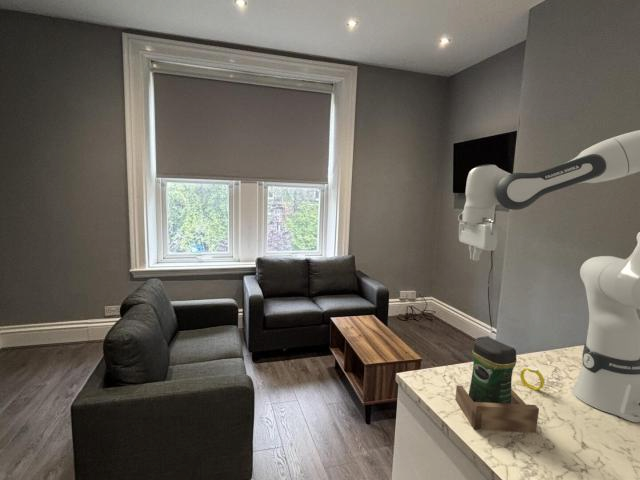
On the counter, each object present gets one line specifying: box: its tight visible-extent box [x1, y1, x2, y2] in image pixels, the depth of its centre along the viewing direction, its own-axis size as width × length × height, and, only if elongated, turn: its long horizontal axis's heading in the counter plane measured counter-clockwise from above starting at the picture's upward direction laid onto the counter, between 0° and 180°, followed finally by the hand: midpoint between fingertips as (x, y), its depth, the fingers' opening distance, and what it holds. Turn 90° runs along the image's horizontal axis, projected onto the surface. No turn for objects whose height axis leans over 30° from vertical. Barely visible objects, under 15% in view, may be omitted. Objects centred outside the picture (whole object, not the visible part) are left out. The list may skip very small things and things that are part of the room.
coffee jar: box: [468, 335, 517, 404], centre depth 85 cm, size 10×8×19 cm
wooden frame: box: [455, 385, 540, 434], centre depth 84 cm, size 14×12×6 cm
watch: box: [519, 365, 545, 391], centre depth 98 cm, size 6×3×6 cm, turn 30°
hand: (474, 260), depth 109 cm, fingers closed
